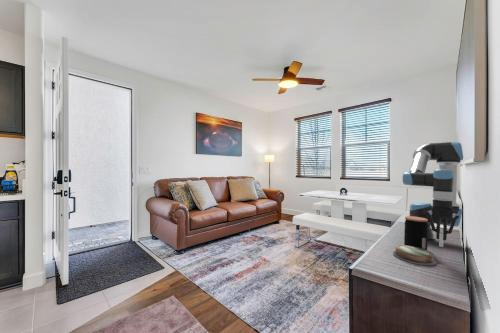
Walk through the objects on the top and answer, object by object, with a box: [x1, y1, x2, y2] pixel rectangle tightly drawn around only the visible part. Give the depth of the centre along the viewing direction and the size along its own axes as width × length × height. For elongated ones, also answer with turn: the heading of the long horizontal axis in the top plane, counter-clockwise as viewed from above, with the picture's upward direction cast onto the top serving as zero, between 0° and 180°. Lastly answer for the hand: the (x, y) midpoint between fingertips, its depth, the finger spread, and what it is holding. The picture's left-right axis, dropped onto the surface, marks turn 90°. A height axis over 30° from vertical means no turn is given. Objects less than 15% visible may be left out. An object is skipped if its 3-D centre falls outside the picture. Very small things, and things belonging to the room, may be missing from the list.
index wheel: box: [395, 238, 435, 263], centre depth 114 cm, size 16×16×9 cm
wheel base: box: [392, 250, 437, 267], centre depth 114 cm, size 18×18×1 cm
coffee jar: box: [403, 215, 428, 250], centre depth 127 cm, size 11×11×18 cm
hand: (441, 246), depth 111 cm, fingers closed
